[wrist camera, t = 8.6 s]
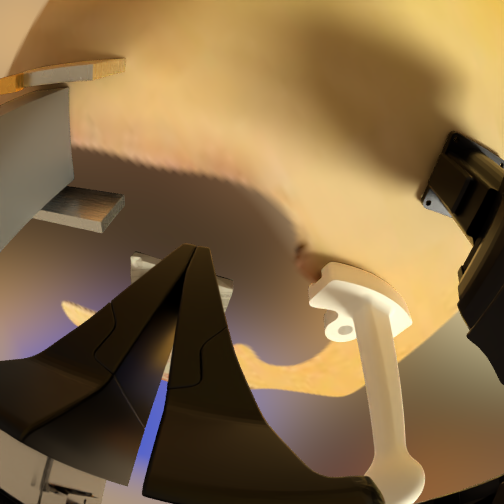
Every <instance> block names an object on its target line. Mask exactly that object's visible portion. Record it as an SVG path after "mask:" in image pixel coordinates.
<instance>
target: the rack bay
mask: <svg viewBox="0 0 504 504" xmlns="http://www.w3.org/2000/svg"><path fill="white" fill-rule="evenodd" d="M125 61H126V58H123V59H104V60H91V61H81V62H73V63H65V64H58V65H52V66H46V67H40V68H35V69H32V70H28V71H25V72H22V73H19V74H15V75H11V76H7V77H4V78H1V79H0V95H2V94H7V93H12V92H17V91H19V90H22V89H24V87H30V86H37V85H44V84H52V83H62V82H73V81H87V80H95V79H98V78H102V77H106V76H110V75H113V74H117V73H122V72H125ZM124 205H125V201H124V195H122V194H116V193H109V192H103V191H97V190H90V189H83V188H76V187H69V186H66V187H65V188H63V189H62V190H61V191H60V192H59V193H58V194H57V195H56V196H54V197H53V198H52V199H51V200H50V201H49V202H48V203H47V204H46V205H45V206H44V207H43V208H42V209H41V210H40V211H39V212H38V213H36V214H35V215H34V216H33V217H32V218H36V219H40V220H44V221H49V222H53V223H58V224H63V225H67V226H72V227H77V228H81V229H86V230H91V231H95V232H99V233H103V232H104V230H105V229H106V228H107V226H108V225H109V224H110V223H111V221H112V220H113V219H114V218H115V216H116V215H117V214H118V213H119V212H120V210H121V209H122V208H123V207H124Z"/></svg>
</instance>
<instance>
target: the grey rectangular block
mask: <svg viewBox="0 0 504 504" xmlns="http://www.w3.org/2000/svg"><path fill="white" fill-rule="evenodd" d="M73 180H74V172H73V163H72V153H71V141H70V124H69V88H58V89H48V90H39V91H34V92H31V93H28V94H26V95H23V96H21V97H19V98H16V99H14V100H11V101H9V102H7V103H5V104H2V105H0V252H1V250H2V249H3V248H4V247H5V246H6V245H7V244H8V243H9V242H10V240H11V239H12V238H13V237H14V236H15V235H16V234H17V233H18V232H19V231H20V230H21V229H22V228H23V227H24V225H25V224H26V223H27V222H28V221H29V220H30V219H31V218H32V217H33V216H34V215H35V214H36V213H38V212H39V211H40V210H41V209H42V208H43V207H44V206H45V205H46V204H47V203H48V202H49V201H50V200H51V199H52V198H53V197H54V196H56V195H57V194H58V193H59V192H60V191H61V190H62V189H63V188H65V187H66V186H67V185H68V184H69V183H70V182H72V181H73Z"/></svg>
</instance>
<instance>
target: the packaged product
mask: <svg viewBox="0 0 504 504" xmlns="http://www.w3.org/2000/svg"><path fill="white" fill-rule="evenodd" d="M161 260H162V259H158V258H155V257H152V256H149V255H147V254H144V253H141V252H138V251H135V253H134V254H133V255H132V256H131V271H130V272H131V284H132V283H134V282H135V281H136V280H137V279H139V278H140V277H141V276H142V275H144V274H145V273H146V272H147V271H149V270H150V269H151V268H152V267H154V266H155V265H156V264H158V263H159V262H160V261H161ZM216 277H217V282H218V286H219V291H220V295H221V299H222V304H223V308H224V312H225V311H226V308H227V306H228V303H229V300H230V298H231V295H232V291H233V279H229V278H225V277H222V276H218V275H216ZM171 355H172V350H171V353H170V356H169V359H168V362H167V365H166V367H165V370H164V373H163V376H162V379H161V380H165V381H167V382H168V377H169V369H170V362H171Z"/></svg>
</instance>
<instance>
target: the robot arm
mask: <svg viewBox="0 0 504 504" xmlns="http://www.w3.org/2000/svg"><path fill="white" fill-rule="evenodd" d="M455 136H456V140H455V141H454V137H455ZM500 164H501V165H500ZM428 200H429V202H428V203H426V201H428ZM421 203H422V205H423V206H424V207H425V208H426V209H429V210H432V211H435V212H438V213H440V214H443V215H446V216H449V217H451V218H453V219H454V220H455V222H456V223H457V224H458V226H459V227H460V229H461V230H462V231H463V233H464V234H465V236H466V237H467V239H468V240H469V242H470V243H471V244H472V246H473V248H472V250H471V252H470V253H469V255H468V257H467V259H466V261H465V263H464V265H463V266H461V267H460V269H459V271H458V277H459V285H458V292H459V301H458V303H457V306H458V309H459V311H460V314H461V316H462V318H463V320H464V322H465V323H466V325H467V326H468V328H469V330H470V331H469V332H468V333H467V338H468V339H469V340H470V341H472V342H473V343H474V344H475V345H476V346H478V347H479V348H480V349H481V351H482V352H483V353H484V354H485V355H486V356H487V358H488V359H489V361H490V363H491V364H492V366H493V368H494V370H495V372H496V374H497V376H498V378H499V380H500V382H501V383H502V384H503V385H504V160H502V159H501V158H500V157H498V156H497V155H495V154H493V153H492V152H490V151H489V150H487V149H485V148H484V147H482V146H481V145H479V144H477V143H475V142H474V141H472V140H470V139H469V138H467V137H465V136H463V135H461V134H460V133H458V132H456V131H452V132H451V133H450V134H449V136H448V138H447V141H446V144H445V146H444V149H443V151H442V154H441V155H440V156H439V159H438V161H437V164H436V166H435V168H434V171H433V173H432V175H431V178H430V180H429V182H428V186H427V188H426V191H425V193H424V195H423V197H422V199H421ZM171 350H172V355H171V362H170V369H169V377H168V384H167V393H166V401H165V406H164V411H163V415H162V418H161V421H160V425H159V428H158V432H157V435H156V439H155V442H154V446H153V450H152V453H151V457H150V461H149V464H148V468H147V472H146V476H145V480H144V483H143V490H142V495H143V496H145V497H148V498H152V499H156V500H160V501H164V502H168V503H172V504H385V500H384V497H383V495H382V493H381V491H380V490H379V489H378V487H377V486H376V484H375V483H374V482H373V480H372V479H371V478H370V477H369V476H347V477H327V476H323V475H320V474H318V473H316V472H314V471H313V470H311V469H310V468H309V467H308V466H307V465H306V464H305V463H304V462H303V461H302V460H301V459H300V458H299V457H298V456H297V455H296V454H295V453H294V452H293V451H292V450H291V449H290V448H289V447H288V446H287V445H286V444H285V443H284V441H283V440H282V439H281V438H280V437H279V436H278V435H277V434H276V433H275V431H274V430H273V429H272V428H271V427H270V426H269V425H268V423H267V421H266V420H265V418H264V417H263V415H262V413H261V411H260V409H259V407H258V405H257V403H256V401H255V399H254V397H253V394H252V392H251V390H250V388H249V385H248V383H247V381H246V379H245V376H244V374H243V372H242V370H241V367H240V364H239V362H238V359H237V357H236V354H235V350H234V347H233V344H232V340H231V336H230V332H229V329H228V325H227V321H226V316H225V312H224V308H223V304H222V299H221V295H220V291H219V286H218V282H217V277H216V273H215V268H214V264H213V259H212V254H211V250H210V248H209V247H203V246H197V247H196V246H195V245H193V244H187V243H184V244H182V245H181V246H180V247H178V248H177V249H176V250H174V251H173V252H172V253H170V254H169V255H168V256H166V257H165V258H164V259H163V260H161V261H160V262H159V263H158V264H156V265H155V266H154V267H152V268H151V269H150V270H149V271H147V272H146V273H145V274H144V275H142V276H141V277H140V278H139V279H137V280H136V281H135V282H134V283H132V284H131V285H130V286H129V287H128V288H126V289H125V290H124V291H123V292H121V293H120V294H119V295H118V296H117V297H115V298H114V299H113V300H112V301H111V303H108V304H107V305H106V306H105V307H103V308H102V309H101V310H100V311H98V312H97V313H96V314H95V315H93V316H92V317H91V318H90V319H88V320H87V321H85V322H84V323H83V324H81V325H80V326H79V327H77V328H76V329H74V330H73V331H71V332H70V333H68V334H67V335H66V336H64V337H63V338H61V339H60V340H58V341H57V342H56V343H54V344H53V345H51V346H50V347H48V348H47V349H45V350H44V351H42V352H41V353H39V354H37V355H35V356H32V357H29V358H24V359H15V360H5V361H0V504H101V502H102V497H103V492H104V488H105V483H106V480H108V481H111V482H115V483H118V484H121V485H125V486H128V483H129V480H130V476H131V473H132V470H133V466H134V463H135V460H136V456H137V453H138V449H139V447H140V443H141V440H142V437H143V434H144V431H145V429H144V428H145V427H146V424H147V421H148V418H149V415H150V412H151V409H152V406H153V402H154V400H155V397H156V394H157V391H158V388H159V385H160V382H161V379H162V376H163V373H164V370H165V367H166V365H167V362H168V359H169V356H170V353H171ZM416 504H504V474H502V475H500V476H497V477H494V478H492V479H490V480H487V481H485V482H482V483H480V484H477V485H474V486H471V487H468V488H466V489H463V490H460V491H456V492H453V493H450V494H447V495H443V496H440V497H436V498H433V499H430V500H426V501H423V502H419V503H416Z"/></svg>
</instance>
